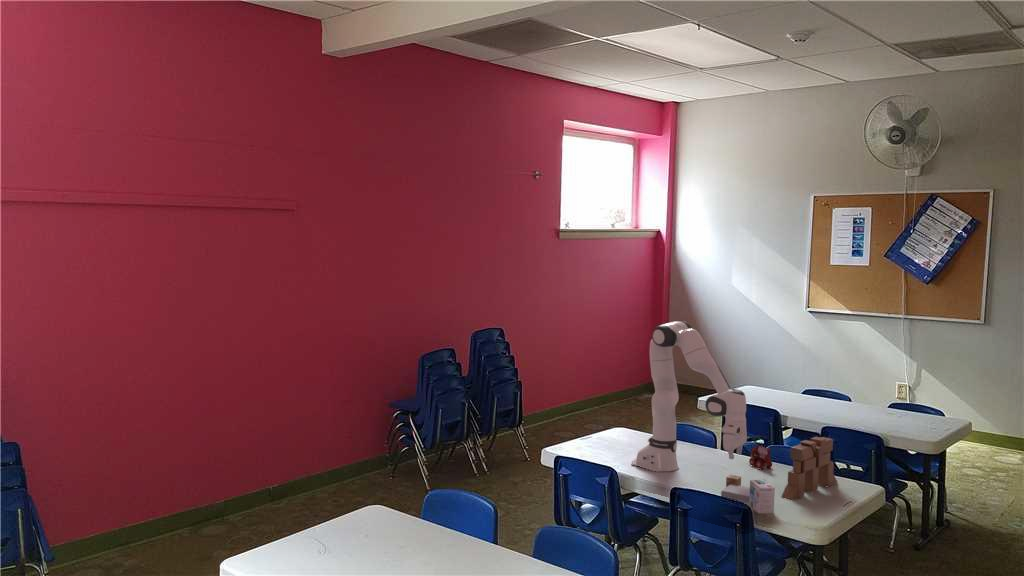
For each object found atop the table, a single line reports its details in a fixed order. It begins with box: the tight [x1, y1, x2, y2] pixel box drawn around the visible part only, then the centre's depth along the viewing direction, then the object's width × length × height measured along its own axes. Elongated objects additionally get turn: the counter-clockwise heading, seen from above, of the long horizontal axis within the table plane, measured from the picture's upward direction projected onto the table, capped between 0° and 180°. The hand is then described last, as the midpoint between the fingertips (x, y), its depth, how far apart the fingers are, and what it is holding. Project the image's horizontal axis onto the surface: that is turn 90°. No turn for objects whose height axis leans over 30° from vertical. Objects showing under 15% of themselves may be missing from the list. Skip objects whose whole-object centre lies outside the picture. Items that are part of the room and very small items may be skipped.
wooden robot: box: [780, 436, 838, 501], centre depth 350 cm, size 40×8×23 cm, turn 132°
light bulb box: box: [748, 479, 776, 514], centre depth 324 cm, size 11×7×11 cm, turn 5°
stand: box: [720, 484, 750, 503], centre depth 341 cm, size 12×12×2 cm
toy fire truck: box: [748, 444, 773, 470], centre depth 385 cm, size 7×12×10 cm, turn 22°
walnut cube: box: [725, 474, 742, 488], centre depth 352 cm, size 5×5×5 cm
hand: (735, 456), depth 351 cm, fingers open, 8 cm apart
